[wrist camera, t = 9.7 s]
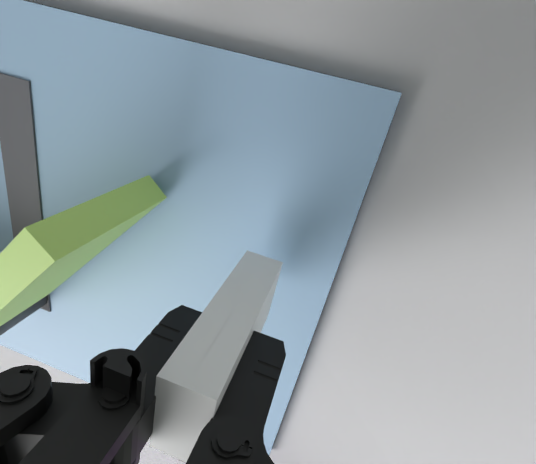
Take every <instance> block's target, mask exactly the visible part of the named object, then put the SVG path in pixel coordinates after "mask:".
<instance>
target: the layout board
mask: <svg viewBox="0 0 536 464" xmlns="http://www.w3.org/2000/svg"><path fill="white" fill-rule="evenodd" d="M401 94H402V93H400V92H396V91H392V90H388V89H384V88H380V87H376V86H372V85H367V84H363V83H359V82H355V81H351V80H347V79H343V78H339V77H335V76H331V75H327V74H322V73H318V72H314V71H310V70H306V69H302V68H298V67H294V66H290V65H286V64H282V63H277V62H273V61H269V60H265V59H261V58H257V57H253V56H249V55H245V54H241V53H237V52H232V51H228V50H224V49H220V48H216V47H212V46H208V45H204V44H200V43H196V42H192V41H188V40H183V39H179V38H175V37H171V36H167V35H163V34H159V33H155V32H151V31H147V30H143V29H138V28H134V27H130V26H126V25H122V24H118V23H114V22H110V21H106V20H102V19H98V18H93V17H89V16H85V15H81V14H77V13H73V12H69V11H65V10H61V9H57V8H53V7H48V6H44V5H40V4H36V3H32V2H28V1H24V0H0V253H1V252H2V251H3V250H4V249H5V248H6V247H7V246H8V244H9V243H10V242H11V241H12V240H13V239H14V238H15V237H16V236H17V235H18V234H19V233H20V232H21V231H22V230H23V229H24V227H27V226H29V225H31V224H34V223H36V222H39V221H41V220H43V219H46V218H48V217H50V216H53V215H55V214H58V213H60V212H62V211H65V210H67V209H69V208H72V207H74V206H77V205H79V204H81V203H84V202H86V201H88V200H91V199H93V198H95V197H98V196H100V195H103V194H105V193H107V192H110V191H112V190H114V189H117V188H119V187H122V186H124V185H126V184H129V183H131V182H133V181H136V180H138V179H140V178H143V177H145V176H148V175H150V177H151V178H152V179H153V180H154V182H155V183H156V184H157V185H158V187H159V188H160V189H161V190H162V192H163V193H164V194H165V195H166V197H167V198H166V199H165V200H163V201H162V202H161V203H160V204H158V205H157V206H156V207H155V208H154V209H152V210H151V211H150V212H149V213H147V214H146V215H145V216H144V217H143V218H141V219H140V220H139V221H138V222H136V223H135V224H134V225H133V226H132V227H130V228H129V229H128V230H127V231H125V232H124V233H123V234H122V235H121V236H119V237H118V238H117V239H116V240H115V241H113V242H112V243H111V244H110V245H108V246H107V247H106V248H105V249H104V250H102V251H101V252H100V253H99V254H97V255H96V256H95V257H94V258H93V259H91V260H90V261H89V262H88V263H86V264H85V265H84V266H83V267H82V268H80V269H79V270H78V271H77V272H75V273H74V274H73V275H72V276H71V277H69V278H68V279H67V280H66V281H65V282H63V283H62V284H61V285H60V286H58V287H57V288H56V289H55V290H54V291H52V292H51V293H50V294H48V295H47V303H46V304H45V305H44V306H43V307H41V308H40V309H38V310H37V311H35V312H34V313H32V314H31V315H29V316H28V317H27V318H25V319H24V320H22V321H21V322H19V323H18V324H16V325H15V326H13V327H12V328H11V329H9V330H8V331H6V332H5V333H3V334H2V335H0V345H2V346H4V347H7V348H9V349H11V350H14V351H16V352H18V353H21V354H23V355H26V356H28V357H30V358H33V359H35V360H37V361H40V362H42V363H44V364H47V365H49V366H51V367H54V368H56V369H58V370H61V371H63V372H66V373H68V374H70V375H73V376H75V377H77V378H80V379H82V380H84V381H87V382H89V383H90V360H91V359H93V358H94V357H95V356H97V355H98V354H99V353H102V352H105V351H108V350H110V349H119V348H124V349H129V350H134V351H135V350H136V348H137V347H138V346H139V345H140V344H141V343H142V342H143V340H144V339H145V338H146V337H147V336H148V335H149V334H150V333H151V331H152V330H153V329H154V328H155V327H156V325H158V324H159V322H160V321H161V320H162V319H163V317H164V316H165V315H166V314H167V313H168V312H169V311H171V310H173V309H175V308H177V307H179V306H181V305H184V306H186V307H189V308H192V309H194V310H197V311H200V312H203V311H204V309H205V308H206V307H207V305H208V304H209V303H210V301H211V300H212V298H213V297H214V296H215V294H216V293H217V291H218V290H219V289H220V287H221V286H222V285H223V283H224V282H225V280H226V279H227V278H228V276H229V275H230V273H231V272H232V271H233V269H234V268H235V267H236V265H237V264H238V262H239V261H240V260H241V258H242V257H243V255H244V254H245V253H246V251H250V252H253V253H256V254H259V255H262V256H265V257H268V258H271V259H274V260H277V261H280V262H283V264H282V268H281V271H280V275H279V278H278V282H277V285H276V289H275V293H274V296H273V300H272V303H271V307H270V310H269V314H268V317H267V319H266V321H265V324H264V326H263V328H262V331H261V333H262V334H265V335H268V336H270V337H273V338H276V339H278V340H281V341H283V342H284V347H285V352H286V357H285V360H284V364H283V367H282V370H281V374H280V377H279V380H278V384H277V387H276V390H275V393H274V397H273V400H272V403H271V407H270V410H269V413H268V417H267V420H266V423H265V427H264V433H263V438H264V445H265V448H266V451H267V453H268V455H269V454H270V451H271V449H272V446H273V443H274V440H275V438H276V435H277V432H278V430H279V427H280V424H281V421H282V419H283V416H284V413H285V410H286V408H287V405H288V402H289V400H290V397H291V394H292V391H293V389H294V386H295V383H296V380H297V378H298V375H299V372H300V370H301V367H302V364H303V361H304V359H305V356H306V353H307V350H308V348H309V345H310V342H311V340H312V337H313V334H314V331H315V329H316V326H317V323H318V320H319V318H320V315H321V312H322V310H323V307H324V304H325V301H326V299H327V296H328V293H329V290H330V288H331V285H332V282H333V280H334V277H335V274H336V271H337V269H338V266H339V263H340V260H341V258H342V255H343V252H344V250H345V247H346V244H347V241H348V239H349V236H350V233H351V230H352V228H353V225H354V222H355V220H356V217H357V214H358V211H359V209H360V206H361V203H362V200H363V198H364V195H365V192H366V190H367V187H368V184H369V181H370V179H371V176H372V173H373V170H374V168H375V165H376V162H377V160H378V157H379V154H380V151H381V149H382V146H383V143H384V140H385V138H386V135H387V132H388V130H389V127H390V124H391V121H392V119H393V116H394V113H395V110H396V108H397V105H398V102H399V100H400V97H401Z"/></svg>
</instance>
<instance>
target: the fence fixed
mask: <svg viewBox="0 0 536 464" xmlns="http://www.w3.org/2000/svg"><path fill="white" fill-rule="evenodd" d="M46 303H47V296H45V297H44V298H42V299H41V300H39V301H38V302H36V303H35V304H33V305H32V306H30V307H29V308H27V309H26V310H24V311H23V312H21V313H20V314H18V315H17V316H15V317H14V318H12V319H11V320H9V321H8V322H6V323H5V324H3V325H2V326H0V335H2V334H3V333H5V332H6V331H8V330H9V329H11V328H12V327H13V326H15V325H16V324H18V323H19V322H21V321H22V320H24V319H25V318H27V317H28V316H29V315H31V314H32V313H34V312H35V311H37V310H38V309H40V308H41V307H43V306H44V305H45V304H46Z"/></svg>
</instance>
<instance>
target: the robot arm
mask: <svg viewBox="0 0 536 464" xmlns="http://www.w3.org/2000/svg"><path fill="white" fill-rule="evenodd" d="M282 264H283V262H280V261H277V260H274V259H271V258H268V257H265V256H262V255H259V254H256V253H253V252H250V251H246V253H245V254H244V255H243V257H242V258H241V260H240V261H239V262H238V264H237V265H236V267H235V268H234V269H233V271H232V272H231V273H230V275H229V276H228V278H227V279H226V280H225V282H224V283H223V285H222V286H221V287H220V289H219V290H218V291H217V293H216V294H215V296H214V297H213V298H212V300H211V301H210V303H209V304H208V305H207V307H206V308H205V309H204V311H203V312H200V311H197V310H194V309H192V308H189V307H186V306H184V305H181V306H179V307H177V308H175V309H173V310H171V311H169V312H168V313H167V314H166V315H165V316H164V317H163V319H162V320H161V321H160V322H159V324H158V325H156V327H155V328H154V329H153V330H152V331H151V333H150V334H149V335H148V336H147V337H146V338H145V339H144V340H143V342H142V343H141V344H140V345H139V346H138V347H137V348H136V350H135V351H134V350H129V349H124V348H119V349H110V350H108V351H105V352H102V353H99V354H98V355H97V356H95V357H94V358H93V359H91V360H90V383H88V384H73V383H60V382H51V376H50V375H49V373H48V372H47V370H45V369H43V368H41V367H39V366H32V365H24V366H18V367H13V368H11V369H8V370H6V371H4V372H1V373H0V464H138V463H139V459H140V452H141V450H142V449H143V447H144V446H145V444H146V442H147V441H148V439H149V437H150V445H149V447H151V448H153V449H155V450H157V451H160V452H162V453H164V454H167V455H169V456H171V457H173V458H176V459H178V460H180V461H182V462H185V463H186V464H274V463H273V461H272V460H271V458H270V457H269V455H268V453H267V451H266V448H265V445H264V438H263V433H264V427H265V423H266V420H267V417H268V413H269V410H270V407H271V403H272V400H273V397H274V393H275V390H276V387H277V384H278V380H279V377H280V374H281V370H282V367H283V364H284V360H285V357H286V352H285V347H284V342H283V341H281V340H278V339H276V338H273V337H270V336H268V335H265V334H262V333H261V331H262V328H263V326H264V324H265V321H266V319H267V317H268V314H269V310H270V307H271V303H272V300H273V296H274V293H275V289H276V285H277V282H278V278H279V275H280V271H281V268H282Z"/></svg>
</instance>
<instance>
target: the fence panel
mask: <svg viewBox="0 0 536 464" xmlns="http://www.w3.org/2000/svg"><path fill="white" fill-rule="evenodd" d="M166 198H167V197H166V195H165V194H164V193H163V192H162V190H161V189H160V188H159V187H158V185H157V184H156V183H155V182H154V180H153V179H152V178H151V177H150V175H148V176H145V177H143V178H140V179H138V180H136V181H133V182H131V183H129V184H126V185H124V186H122V187H119V188H117V189H114V190H112V191H110V192H107V193H105V194H103V195H100V196H98V197H95V198H93V199H91V200H88V201H86V202H84V203H81V204H79V205H77V206H74V207H72V208H69V209H67V210H65V211H62V212H60V213H58V214H55V215H53V216H50V217H48V218H46V219H43V220H41V221H39V222H36V223H34V224H31V225H29V226H27V227H24V229H23V230H22V231H21V232H20V233H19V234H18V235H17V236H16V237H15V238H14V239H13V240H12V241H11V242H10V243H9V244H8V246H7V247H6V248H5V249H4V250H3V251H2V252H1V253H0V326H2V325H3V324H5V323H6V322H8V321H9V320H11V319H12V318H14V317H15V316H17V315H18V314H20V313H21V312H23V311H24V310H26V309H27V308H29V307H30V306H32V305H33V304H35V303H36V302H38V301H39V300H41V299H42V298H44V297H45V296H47V295H48V294H50V293H51V292H52V291H54V290H55V289H56V288H57V287H58V286H60V285H61V284H62V283H63V282H65V281H66V280H67V279H68V278H69V277H71V276H72V275H73V274H74V273H75V272H77V271H78V270H79V269H80V268H82V267H83V266H84V265H85V264H86V263H88V262H89V261H90V260H91V259H93V258H94V257H95V256H96V255H97V254H99V253H100V252H101V251H102V250H104V249H105V248H106V247H107V246H108V245H110V244H111V243H112V242H113V241H115V240H116V239H117V238H118V237H119V236H121V235H122V234H123V233H124V232H125V231H127V230H128V229H129V228H130V227H132V226H133V225H134V224H135V223H136V222H138V221H139V220H140V219H141V218H143V217H144V216H145V215H146V214H147V213H149V212H150V211H151V210H152V209H154V208H155V207H156V206H157V205H158V204H160V203H161V202H162V201H163V200H165V199H166Z"/></svg>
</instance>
